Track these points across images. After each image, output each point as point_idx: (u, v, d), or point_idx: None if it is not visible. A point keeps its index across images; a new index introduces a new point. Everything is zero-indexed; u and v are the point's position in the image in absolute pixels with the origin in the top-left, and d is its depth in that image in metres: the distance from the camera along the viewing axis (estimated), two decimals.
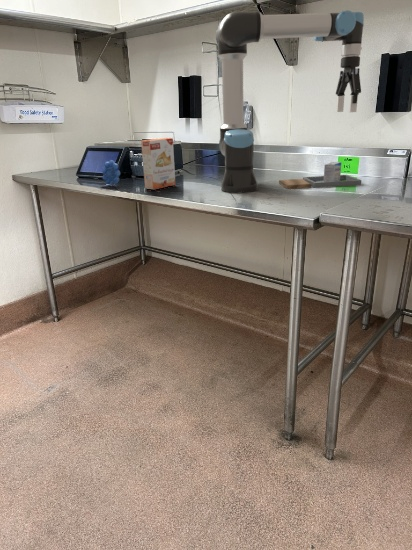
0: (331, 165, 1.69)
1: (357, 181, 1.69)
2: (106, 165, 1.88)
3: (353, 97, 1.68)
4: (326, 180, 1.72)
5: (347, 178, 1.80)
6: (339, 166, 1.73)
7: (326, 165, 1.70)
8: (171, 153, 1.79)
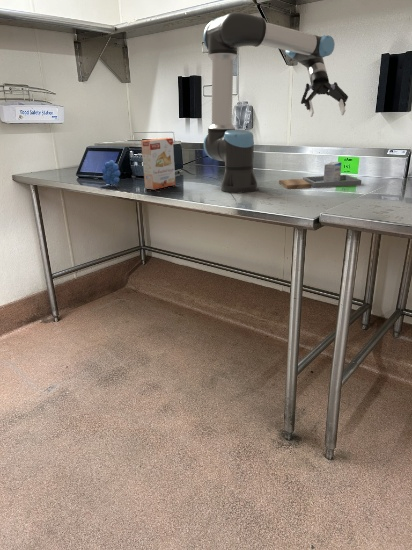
0: (332, 165, 1.69)
1: (357, 181, 1.69)
2: (106, 165, 1.88)
3: (343, 101, 1.76)
4: (326, 180, 1.72)
5: (347, 178, 1.80)
6: (339, 166, 1.73)
7: (326, 165, 1.70)
8: (171, 153, 1.79)
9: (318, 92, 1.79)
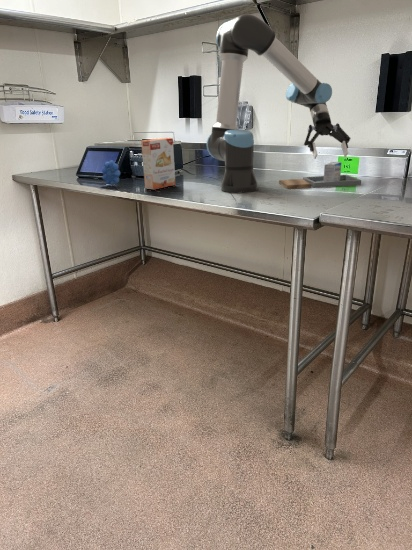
0: (331, 165, 1.69)
1: (357, 181, 1.69)
2: (106, 165, 1.88)
3: (346, 143, 1.79)
4: (326, 180, 1.72)
5: (347, 178, 1.80)
6: (339, 166, 1.73)
7: (326, 165, 1.70)
8: (171, 153, 1.79)
9: (321, 133, 1.81)
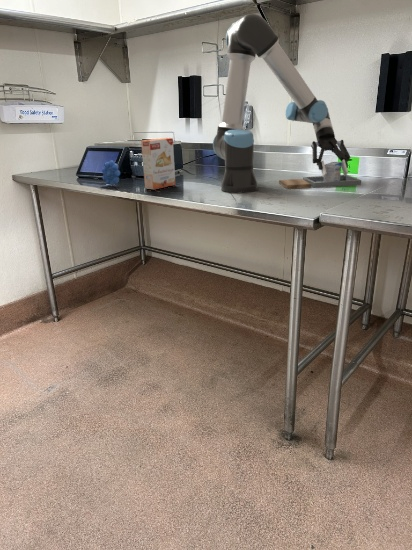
0: (332, 165, 1.69)
1: (357, 181, 1.69)
2: (106, 165, 1.88)
3: (345, 162, 1.73)
4: (326, 180, 1.72)
5: (347, 178, 1.80)
6: (339, 166, 1.73)
7: (326, 165, 1.70)
8: (171, 153, 1.79)
9: None
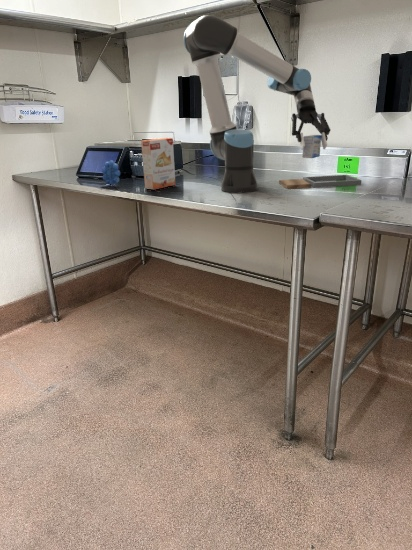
0: (310, 137, 1.65)
1: (357, 181, 1.69)
2: (106, 165, 1.88)
3: (325, 134, 1.68)
4: (305, 152, 1.68)
5: (347, 178, 1.80)
6: (319, 139, 1.68)
7: (305, 137, 1.66)
8: (171, 153, 1.79)
9: None
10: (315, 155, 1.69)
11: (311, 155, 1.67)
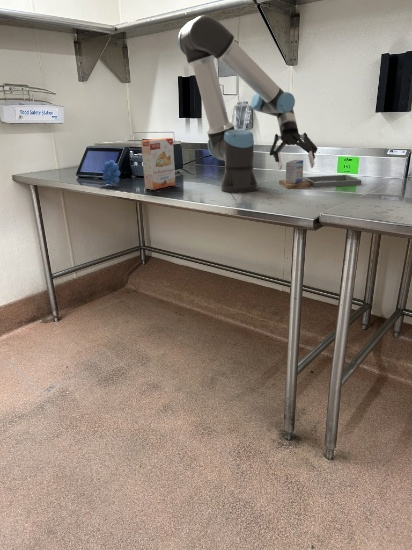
0: (293, 163, 1.68)
1: (357, 181, 1.69)
2: (106, 165, 1.88)
3: (312, 153, 1.72)
4: (288, 178, 1.71)
5: (347, 178, 1.80)
6: (301, 164, 1.72)
7: (288, 163, 1.69)
8: (171, 153, 1.79)
9: (287, 143, 1.74)
10: (298, 180, 1.73)
11: (294, 181, 1.70)
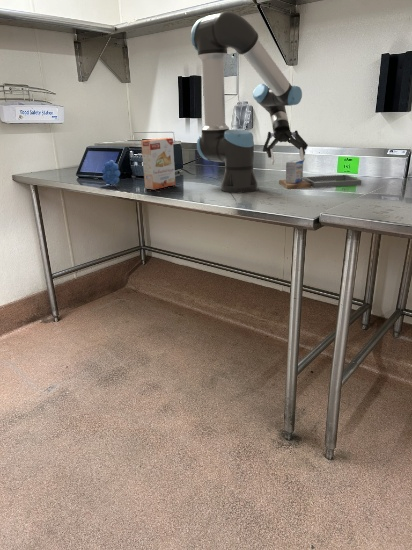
0: (293, 163, 1.68)
1: (357, 181, 1.69)
2: (106, 165, 1.88)
3: (303, 149, 1.84)
4: (288, 178, 1.71)
5: (347, 178, 1.80)
6: (301, 164, 1.72)
7: (288, 163, 1.69)
8: (171, 153, 1.79)
9: (279, 140, 1.86)
10: (298, 180, 1.73)
11: (294, 181, 1.70)
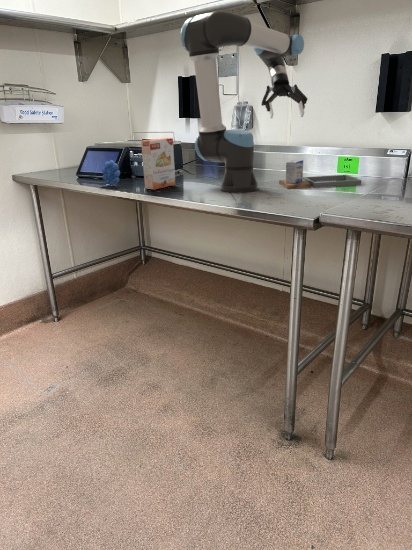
0: (293, 163, 1.68)
1: (357, 181, 1.69)
2: (106, 165, 1.88)
3: (302, 103, 1.80)
4: (288, 178, 1.71)
5: (347, 178, 1.80)
6: (301, 164, 1.72)
7: (288, 163, 1.69)
8: (171, 153, 1.79)
9: (278, 94, 1.82)
10: (298, 180, 1.73)
11: (294, 181, 1.70)
